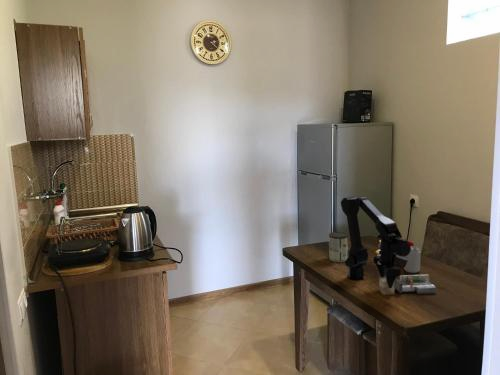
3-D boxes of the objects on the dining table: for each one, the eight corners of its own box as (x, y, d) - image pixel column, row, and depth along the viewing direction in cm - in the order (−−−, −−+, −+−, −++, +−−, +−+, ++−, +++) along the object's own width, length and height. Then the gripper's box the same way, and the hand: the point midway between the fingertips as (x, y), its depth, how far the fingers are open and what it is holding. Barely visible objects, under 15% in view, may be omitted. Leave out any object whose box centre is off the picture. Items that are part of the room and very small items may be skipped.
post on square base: (399, 293, 178) (399, 283, 177) (395, 288, 183) (395, 278, 182) (436, 291, 178) (436, 281, 177) (431, 287, 183) (431, 277, 182)
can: (421, 273, 200) (422, 250, 198) (405, 273, 201) (405, 249, 199) (418, 268, 207) (419, 245, 205) (402, 268, 208) (403, 245, 206)
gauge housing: (407, 294, 177) (407, 283, 176) (399, 285, 186) (399, 275, 185) (437, 292, 177) (437, 282, 176) (427, 284, 186) (428, 274, 185)
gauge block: (382, 294, 178) (383, 281, 177) (379, 290, 183) (379, 277, 182) (394, 294, 178) (394, 281, 177) (390, 289, 183) (390, 276, 182)
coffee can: (332, 254, 232) (332, 231, 230) (350, 257, 227) (350, 233, 225) (326, 260, 224) (325, 235, 222) (344, 263, 218) (344, 237, 216)
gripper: (414, 256, 168) (413, 292, 170) (397, 243, 186) (397, 275, 189) (387, 257, 168) (386, 292, 170) (373, 244, 186) (373, 276, 189)
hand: (386, 284), depth 180 cm, fingers open, 9 cm apart
